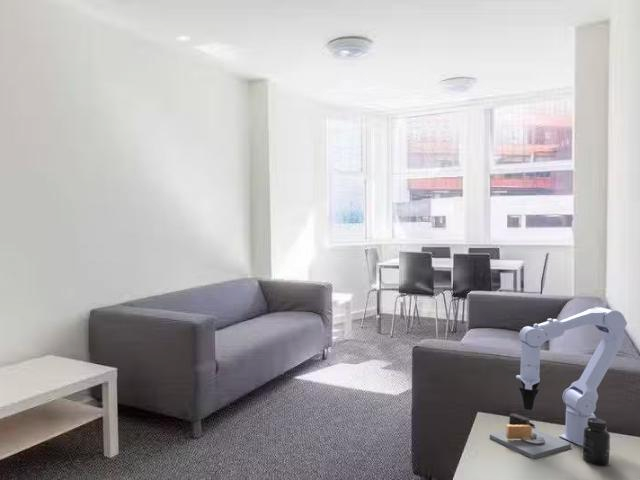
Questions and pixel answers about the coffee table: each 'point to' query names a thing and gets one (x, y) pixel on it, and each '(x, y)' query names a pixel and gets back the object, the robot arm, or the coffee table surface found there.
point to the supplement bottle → (596, 442)
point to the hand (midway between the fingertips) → (528, 405)
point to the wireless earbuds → (519, 420)
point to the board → (531, 449)
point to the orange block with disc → (523, 434)
